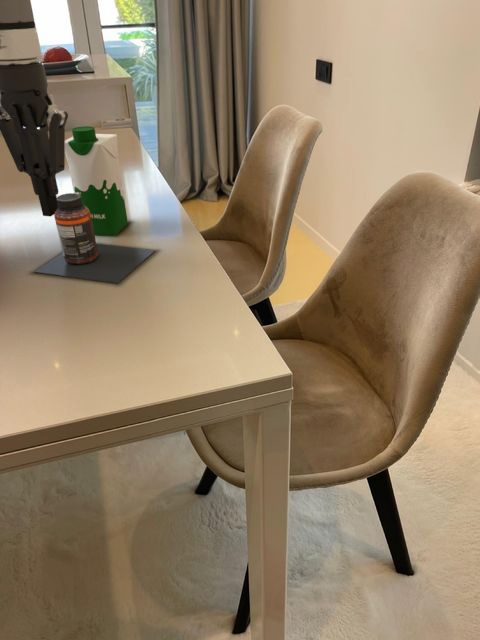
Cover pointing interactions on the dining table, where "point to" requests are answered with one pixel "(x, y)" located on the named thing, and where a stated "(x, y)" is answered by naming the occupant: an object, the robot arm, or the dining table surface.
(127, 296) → the dining table surface
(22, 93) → the robot arm
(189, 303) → the dining table surface
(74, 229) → the supplement bottle
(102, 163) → the milk carton
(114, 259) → the mat
